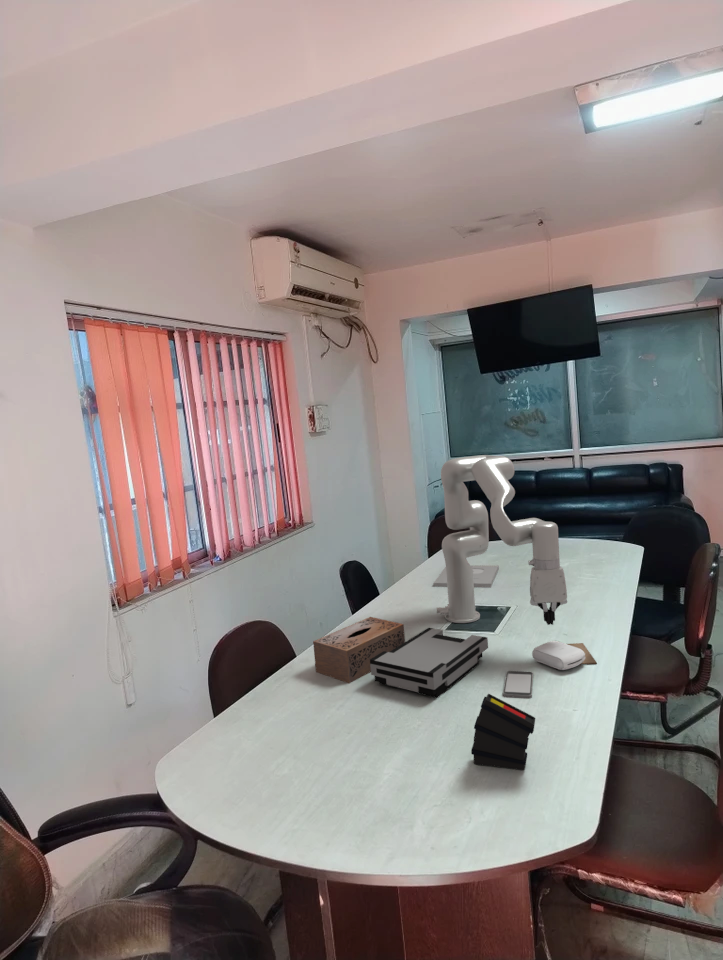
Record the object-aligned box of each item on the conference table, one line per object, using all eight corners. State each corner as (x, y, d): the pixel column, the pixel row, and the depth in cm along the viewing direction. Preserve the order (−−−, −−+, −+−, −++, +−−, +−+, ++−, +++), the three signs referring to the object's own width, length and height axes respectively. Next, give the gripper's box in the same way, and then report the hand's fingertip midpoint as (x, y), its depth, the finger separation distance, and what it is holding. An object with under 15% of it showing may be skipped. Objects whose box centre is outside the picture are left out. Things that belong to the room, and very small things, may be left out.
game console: (488, 659, 189) (487, 633, 188) (435, 703, 164) (433, 673, 163) (430, 648, 202) (428, 623, 201) (372, 687, 177) (369, 659, 176)
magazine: (461, 747, 138) (486, 691, 134) (517, 778, 135) (545, 721, 131) (457, 756, 135) (484, 699, 131) (515, 788, 131) (544, 730, 127)
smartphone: (533, 671, 176) (531, 695, 162) (533, 675, 176) (531, 699, 162) (506, 670, 178) (502, 694, 164) (506, 674, 178) (503, 698, 164)
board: (554, 665, 180) (554, 664, 180) (543, 646, 195) (543, 644, 195) (596, 664, 179) (596, 662, 179) (582, 644, 194) (582, 643, 194)
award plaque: (433, 587, 270) (433, 582, 270) (446, 569, 298) (446, 565, 298) (490, 588, 262) (490, 583, 262) (498, 569, 290) (498, 565, 290)
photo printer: (555, 638, 188) (589, 649, 178) (555, 651, 189) (589, 663, 178) (531, 647, 183) (564, 659, 172) (531, 661, 184) (565, 674, 173)
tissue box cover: (372, 645, 208) (370, 616, 207) (406, 654, 198) (403, 624, 197) (316, 672, 190) (313, 641, 189) (349, 684, 180) (346, 651, 179)
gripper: (523, 568, 181) (526, 628, 183) (575, 565, 180) (578, 626, 182) (518, 561, 189) (522, 620, 191) (569, 559, 187) (572, 617, 189)
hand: (549, 623), depth 186 cm, fingers closed
